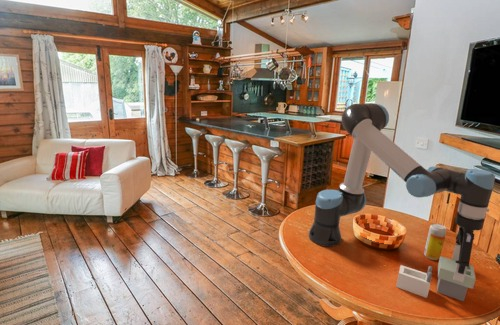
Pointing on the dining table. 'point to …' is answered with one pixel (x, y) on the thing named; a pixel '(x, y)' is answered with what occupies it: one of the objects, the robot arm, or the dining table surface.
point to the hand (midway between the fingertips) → (457, 270)
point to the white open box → (414, 280)
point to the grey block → (448, 269)
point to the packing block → (451, 289)
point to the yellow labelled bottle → (435, 241)
